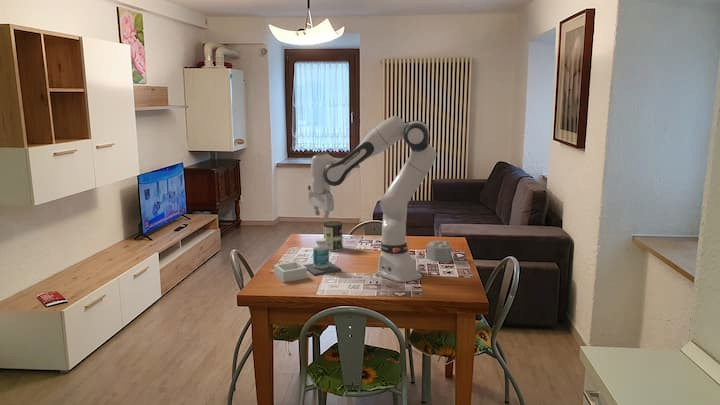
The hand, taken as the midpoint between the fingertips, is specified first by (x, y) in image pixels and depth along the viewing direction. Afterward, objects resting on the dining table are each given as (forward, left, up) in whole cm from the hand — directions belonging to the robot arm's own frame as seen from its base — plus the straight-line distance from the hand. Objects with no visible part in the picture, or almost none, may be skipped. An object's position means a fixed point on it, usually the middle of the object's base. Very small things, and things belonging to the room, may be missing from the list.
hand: (321, 216), depth 262 cm
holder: (-4, +18, -25) cm, 31 cm away
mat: (-1, +1, -25) cm, 25 cm away
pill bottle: (-1, +1, -25) cm, 25 cm away
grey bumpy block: (-15, -58, -26) cm, 66 cm away
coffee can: (+27, -19, -26) cm, 42 cm away
